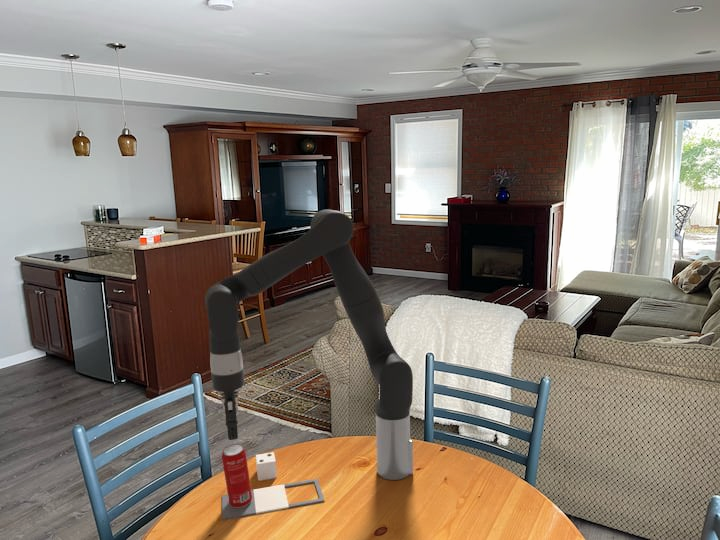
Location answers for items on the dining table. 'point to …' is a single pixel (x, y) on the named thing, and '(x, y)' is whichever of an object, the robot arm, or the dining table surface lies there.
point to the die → (266, 466)
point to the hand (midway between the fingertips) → (232, 430)
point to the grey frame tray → (267, 500)
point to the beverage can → (236, 475)
